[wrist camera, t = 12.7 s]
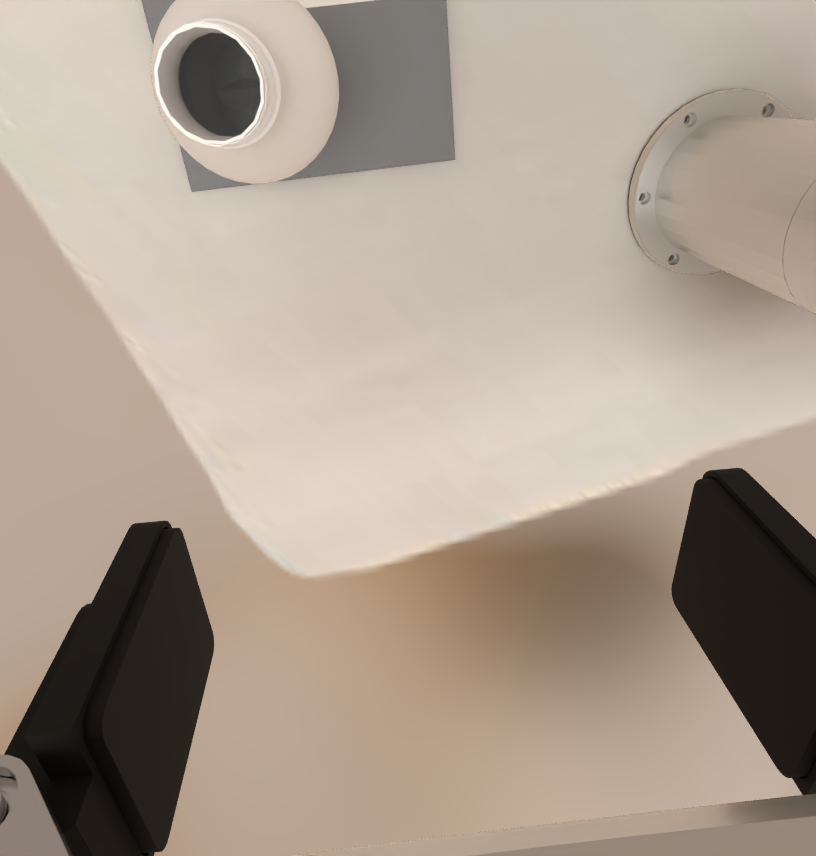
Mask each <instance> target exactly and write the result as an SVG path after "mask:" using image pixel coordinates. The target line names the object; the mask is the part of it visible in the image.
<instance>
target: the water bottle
mask: <svg viewBox="0 0 816 856" xmlns="http://www.w3.org/2000/svg"><path fill="white" fill-rule="evenodd" d="M151 78H152V84H153V90H154V95H155V98H156V101H157V104H158V107H159V110H160V113H161V115H162V117H163V119H164V121H165V123H166V125H167V127H168V129H169V130H170V132H171V133H172V135H173V136H174V137H175V139H176V140H177V142H178V143H179V144H180V145H181V146H182V147H183V148H184V150H185V151H186V152H187V153H188V154H189V155H190V156H191V157H192V158H193V159H195V160H196V161H197V162H199V163H200V164H201V165H203V166H204V167H205V168H207V169H208V170H210V171H212V172H214V173H216V174H218V175H220V176H222V177H225V178H228V179H231V180H234V181H237V182H244V183H251V184H259V183H271V182H275V181H279V180H282V179H285V178H288V177H290V176H292V175H294V174H296V173H297V172H299V171H301V170H302V169H304V168H305V167H306V166H307V165H308V164H310V163H311V162H312V161H313V160H314V159H315V158H316V157H317V156H318V154H319V153H320V151H321V150H322V149H323V147H324V146H325V145H326V143H327V141H328V138H329V136H330V134H331V132H332V130H333V127H334V123H335V120H336V117H337V111H338V103H339V80H338V74H337V69H336V64H335V60H334V57H333V54H332V51H331V49H330V46H329V43H328V41H327V39H326V37H325V35H324V34H323V32H322V30H321V28H320V26H319V25H318V23H317V22H316V21H315V20H314V18H313V17H312V16H311V14H310V13H309V12H308V11H307V9H306V8H305V7H303V6H302V5H301V4H300V3H299V2H298V1H297V0H175V1H174V2H173V3H172V4H171V6H170V7H169V9H168V10H167V12H166V14H165V15H164V17H163V19H162V20H161V22H160V24H159V27H158V30H157V33H156V35H155V38H154V43H153V49H152V55H151Z"/></svg>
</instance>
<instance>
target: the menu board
mask: <svg viewBox="0 0 816 856" xmlns="http://www.w3.org/2000/svg"><path fill="white" fill-rule="evenodd" d="M174 1H175V0H142V4H143V8H144V12H145V15H146V19H147V23H148V27H149V31H150V34H151V38H152V42H153V43H154V38H155V35H156V33H157V30H158V27H159V24H160V22H161V20H162V19H163V17H164V15H165V14H166V12H167V10H168V9H169V7H170V6H171V4H172V3H173V2H174ZM297 1H298V2H299V3H300V4H301V5H302V6H303V7H305V8H306V9H307V11H308V12H309V13H310V14H311V16H312V17H313V18H314V20H315V21H316V22H317V23H318V25H319V26H320V28H321V30H322V32H323V34H324V35H325V37H326V39H327V41H328V43H329V46H330V49H331V51H332V54H333V57H334V60H335V64H336V69H337V74H338V80H339V103H338V111H337V117H336V120H335V123H334V127H333V130H332V132H331V134H330V136H329V138H328V141H327V143H326V145H325V146H324V147H323V149H322V150H321V151H320V153H319V154H318V156H317V157H316V158H315V159H314V160H313V161H312V162H311V163H310V164H308V165H307V166H306V167H305V168H304V169H302V170H301V171H299V172H297V173H296V174H294V175H292V176H290V177H288V178H285V179H282V180H279V181H284V180H292V179H300V178H308V177H317V176H325V175H333V174H341V173H350V172H358V171H366V170H374V169H382V168H391V167H399V166H407V165H415V164H424V163H432V162H440V161H448V160H455V151H454V133H453V115H452V97H451V80H450V62H449V44H448V27H447V9H446V0H297ZM179 145H180V144H179ZM180 149H181V152H182V156H183V160H184V164H185V168H186V171H187V175H188V179H189V183H190V187H191V190H192V192H193V191H201V190H210V189H218V188H226V187H234V186H243V185H251V183H244V182H237V181H234V180H231V179H228V178H225V177H222V176H220V175H218V174H216V173H214V172H212V171H210V170H208V169H207V168H205V167H204V166H203V165H201V164H200V163H199V162H197V161H196V160H195V159H193V158H192V157H191V156H190V155H189V154H188V153H187V152H186V151H185V150H184V148H183V147H182V146H181V145H180ZM275 182H276V181H275Z"/></svg>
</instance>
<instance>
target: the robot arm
mask: <svg viewBox="0 0 816 856" xmlns="http://www.w3.org/2000/svg"><path fill="white" fill-rule="evenodd" d="M762 110H763V112H762ZM686 116H687V121H686V122H685V123H684V120H685V117H686ZM641 194H642V198H641V199H640V200H639V196H640V195H641ZM628 203H629V219H630V223H631V227H632V231H633V234H634V236H635V238H636V240H637V242H638V244H639V246H640V247H641V248H642V249H643V251H644V252H645V253H646V254H647V255H648V257H650V258H651V259H652V260H654V261H655V262H656V263H658V264H659V265H661V266H663V267H665V268H666V269H668V270H671V271H674V272H678V273H681V274H688V275H703V274H711V273H715V272H718V271H721V270H723V271H725V272H727V273H729V274H731V275H733V276H735V277H738V278H740V279H742V280H744V281H746V282H748V283H750V284H752V285H755V286H757V287H759V288H761V289H763V290H765V291H767V292H769V293H772V294H774V295H776V296H778V297H780V298H782V299H784V300H786V301H788V302H791V303H793V304H795V305H797V306H799V307H801V308H803V309H806V310H808V311H810V312H812V313H814V314H816V120H803V119H794V118H793V117H792V115H791V113H790V112H789V110H787V109H786V108H785V107H784V106H783V105H782V104H781V103H780V102H779V101H778V100H776V99H774V98H773V97H771V96H769V95H767V94H765V93H762V92H757V91H753V90H748V89H731V90H722V91H716V92H713V93H710V94H707V95H704V96H701V97H699V98H697V99H695V100H694V101H692V102H690V103H688V104H686V105H685V106H683V107H682V108H681V109H679V110H678V111H677V112H676V113H674V114H673V115H672V116H670V117H669V118H668V119H667V120H666V121H665V122H664V124H663V125H662V126H661V127H660V128H659V129H658V130H657V131H656V132H655V134H654V135H653V136H652V138H651V139H650V141H649V142H648V144H647V145H646V147H645V148H644V150H643V152H642V154H641V157H640V159H639V161H638V163H637V165H636V168H635V171H634V174H633V178H632V181H631V185H630V193H629V201H628ZM670 256H671V258H670V259H669V257H670ZM672 597H673V601H674V604H675V606H676V608H677V609H678V611H679V612H680V614H681V616H682V617H683V619H684V620H685V622H686V624H687V625H688V627H689V628H690V630H691V631H692V633H693V635H694V636H695V638H696V640H697V641H698V642H699V644H700V646H701V648H702V649H703V651H704V652H705V654H706V656H707V657H708V659H709V660H710V662H711V663H712V665H713V667H714V668H715V670H716V672H717V673H718V675H719V676H720V678H721V679H722V681H723V683H724V684H725V686H726V687H727V689H728V691H729V692H730V694H731V695H732V697H733V699H734V700H735V702H736V703H737V705H738V707H739V708H740V710H741V711H742V713H743V715H744V716H745V718H746V719H747V721H748V722H749V724H750V726H751V727H752V729H753V730H754V732H755V734H756V735H757V737H758V739H759V740H760V742H761V743H762V745H763V746H764V748H765V750H766V751H767V753H768V754H769V756H770V758H771V759H772V761H773V762H774V764H775V766H776V767H777V769H778V770H779V771H780V772H781V773H782V774H783V775H784V776H785V777H788V778H792V779H793V780H794V782H795V783H796V785H797V787H798V788H799V790H800V791H801V793H802V794H803V795H801V796H790V797H781V798H772V799H764V800H754V801H745V802H737V803H728V804H719V805H710V806H701V807H692V808H683V809H674V810H666V811H658V812H648V813H639V814H630V815H622V816H613V817H605V818H596V819H588V820H580V821H571V822H562V823H554V824H545V825H537V826H529V827H520V828H511V829H503V830H495V831H487V832H478V833H470V834H462V835H453V836H444V837H436V838H429V839H420V840H412V841H404V842H396V843H388V844H380V845H372V846H364V847H355V848H347V849H340V850H332V851H323V852H315V853H307V854H299V855H291V856H816V539H815V538H814V537H813V536H812V535H811V534H810V533H809V532H808V531H807V530H806V529H805V528H804V527H803V526H802V525H801V524H800V523H799V522H798V521H797V520H796V519H795V518H794V517H793V516H791V514H789V512H787V511H786V510H785V509H784V508H783V507H782V506H781V505H780V504H779V503H778V502H777V501H776V500H775V499H774V498H773V497H772V496H771V495H770V494H769V493H768V492H767V491H766V490H765V489H764V488H763V487H762V486H761V485H760V484H759V483H757V481H756V480H754V479H753V478H752V477H751V476H750V475H749V474H748V473H747V472H746V471H745V470H743V469H741V468H733V469H721V470H710V471H708V472H706V473H705V474H704V475H703V478H702V479H700V480H697V481H696V483H695V485H694V488H693V493H692V497H691V502H690V506H689V511H688V515H687V520H686V525H685V529H684V533H683V538H682V542H681V547H680V551H679V556H678V561H677V565H676V570H675V574H674V578H673V583H672ZM213 651H214V637H213V631H212V628H211V625H210V622H209V618H208V615H207V612H206V608H205V605H204V602H203V598H202V595H201V592H200V589H199V585H198V582H197V579H196V575H195V572H194V569H193V565H192V562H191V559H190V555H189V552H188V549H187V546H186V542H185V539H184V536H183V533H182V531H181V529H180V528H172V527H171V525H170V524H169V522H168V521H158V522H146V523H135V524H133V525H131V527H130V528H129V530H128V532H127V534H126V536H125V538H124V540H123V542H122V544H121V546H120V548H119V550H118V552H117V554H116V556H115V558H114V560H113V562H112V564H111V566H110V568H109V570H108V572H107V574H106V576H105V578H104V580H103V582H102V584H101V586H100V588H99V590H98V592H97V594H96V596H95V598H94V600H93V602H92V604H87V605H85V606H84V607H82V608H81V610H80V611H79V613H78V614H77V615H76V618H75V619H74V622H73V623H72V625H71V627H70V629H69V631H68V633H67V635H66V637H65V639H64V640H63V642H62V644H61V646H60V648H59V650H58V652H57V654H56V656H55V658H54V660H53V662H52V664H51V666H50V667H49V669H48V671H47V673H46V675H45V677H44V679H43V681H42V683H41V685H40V687H39V689H38V691H37V693H36V694H35V696H34V698H33V700H32V702H31V704H30V706H29V708H28V710H27V712H26V714H25V716H24V718H23V719H22V721H21V723H20V725H19V727H18V729H17V731H16V733H15V735H14V737H13V739H12V741H11V743H10V745H9V746H8V748H7V750H6V752H5V754H4V755H0V856H154V852H161V851H163V850H164V848H165V846H166V844H167V841H168V838H169V834H170V830H171V826H172V821H173V817H174V813H175V809H176V805H177V801H178V797H179V792H180V789H181V784H182V780H183V776H184V772H185V767H186V764H187V759H188V756H189V751H190V747H191V743H192V739H193V735H194V731H195V727H196V723H197V718H198V714H199V710H200V706H201V702H202V698H203V694H204V690H205V685H206V681H207V677H208V673H209V669H210V665H211V661H212V656H213Z"/></svg>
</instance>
